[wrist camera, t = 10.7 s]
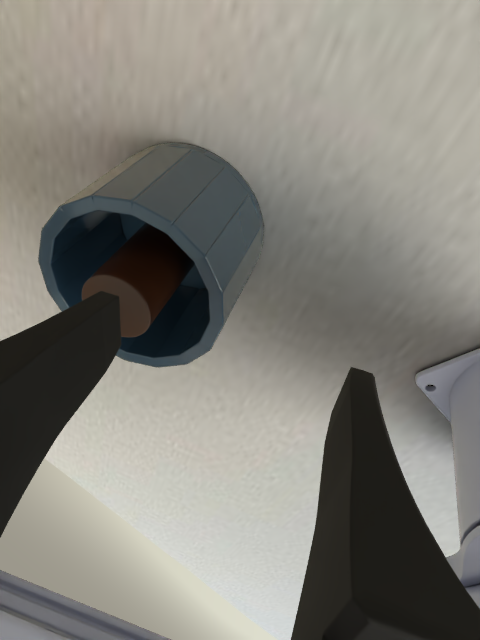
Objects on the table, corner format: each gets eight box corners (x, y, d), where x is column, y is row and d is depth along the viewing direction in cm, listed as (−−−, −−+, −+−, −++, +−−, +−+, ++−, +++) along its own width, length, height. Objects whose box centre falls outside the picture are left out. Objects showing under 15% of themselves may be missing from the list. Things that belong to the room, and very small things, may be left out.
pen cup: (297, 239, 23) (265, 317, 18) (194, 312, 27) (146, 389, 23) (178, 103, 20) (102, 149, 15) (88, 209, 25) (9, 270, 20)
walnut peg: (222, 234, 23) (165, 317, 18) (186, 264, 25) (123, 348, 19) (180, 188, 22) (105, 261, 17) (145, 223, 24) (68, 298, 19)
